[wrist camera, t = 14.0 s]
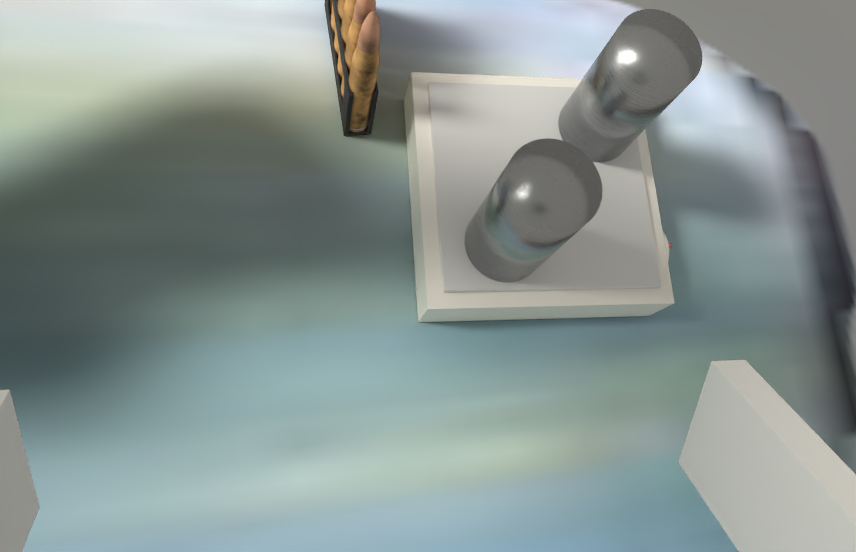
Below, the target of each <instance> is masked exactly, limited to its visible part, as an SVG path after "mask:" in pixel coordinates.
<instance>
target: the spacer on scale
mask: <svg viewBox="0 0 856 552" xmlns="http://www.w3.org/2000/svg"><path fill="white" fill-rule="evenodd" d="M701 65H702V51H701V47H700V44H699V41H698V39H697V37H696V36H695V34H694V33H693V31H692V30H691V29H690V28H689V27H688V26H687V25H686V24H685V23H684V22H683V21H682V20H680V19H679V18H677V17H676V16H674V15H672V14H670V13H667V12H664V11H660V10H655V9H646V10H640V11H637V12H634V13H632V14H631V15H629V16H628V17H627V18H625V19H624V21H623V22H622V23H621V25H620V26H619V27H618V29H617V30H616V32H615V33H614V35H613V36H612V37H611V39H610V40H609V42H608V43H607V45H606V46H605V47H604V49H603V50H602V52H601V53H600V55H599V56H598V57H597V59H596V60H595V62H594V63H593V65H592V66H591V67H590V69H589V70H588V72H587V73H586V75H585V76H584V77H583V79H582V80H581V82H580V83H579V85H578V86H577V88H576V89H575V90H574V92H573V93H572V95H571V96H570V98H569V99H568V100H567V102H566V103H565V105H564V106H563V108H562V109H561V112H560V114H559V119H558V127H559V132H560V135H561V137H562V139H563V141H565V142H568V143H570V144H572V145H574V146H576V147H577V148H579V149H580V150H582V151H583V152H584V153H585V154H586V155H587V156H588V157H589V158H590V159H591V161H592V162H607V161H610V160H613V159H615V158H617V157H618V156H620V155H621V154H622V153H623V152H624V151H625V150H626V149H627V148H628V147H629V145H630V144H631V143H632V142H633V141H634V140H635V139H636V138H637V137H638V136H639V135H640V134H641V133H642V132H643V131H644V130H645V129H646V128H647V127H648V126H649V125H650V124H651V123H652V122H653V121H654V120H655V119H656V118H657V117H658V116H659V115H660V114H661V113H662V112H663V111H664V110H665V108H666V107H667V106H668V105H669V104H670V103H671V102H672V101H673V100H674V99H675V98H676V97H677V96H678V95H679V94H680V93H681V92H682V91H683V90H684V89H685V88H686V87H687V86H688V85H689V84H690V83H691V82H692V81H693V80H694V79H695V77H696V76H697V75H698V73H699V71H700V68H701Z"/></svg>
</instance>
